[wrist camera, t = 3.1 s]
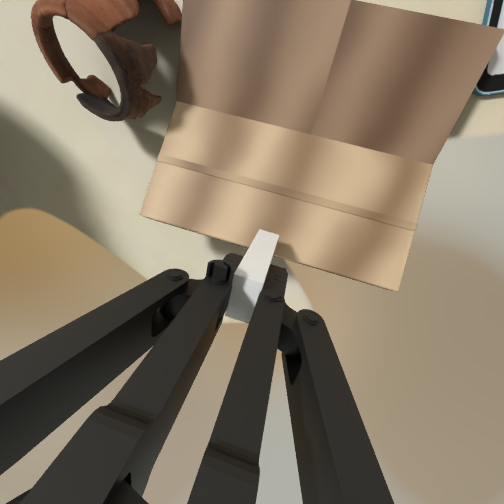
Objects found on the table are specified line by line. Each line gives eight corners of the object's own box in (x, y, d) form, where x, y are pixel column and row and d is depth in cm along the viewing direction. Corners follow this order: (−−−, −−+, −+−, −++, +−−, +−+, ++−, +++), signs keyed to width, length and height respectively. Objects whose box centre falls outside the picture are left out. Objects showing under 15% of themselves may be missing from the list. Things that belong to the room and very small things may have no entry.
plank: (149, 218, 21) (138, 214, 20) (183, 113, 22) (176, 100, 20) (387, 289, 20) (398, 291, 18) (420, 173, 20) (433, 164, 18)
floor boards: (185, 103, 22) (176, 101, 20) (194, -20, 18) (185, -33, 17) (424, 162, 20) (432, 164, 18) (488, 38, 16) (506, 29, 15)
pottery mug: (217, 44, 20) (157, 84, 16) (169, 112, 27) (119, 152, 23) (77, -156, 15) (-71, -179, 10) (63, -8, 22) (-30, 15, 17)
